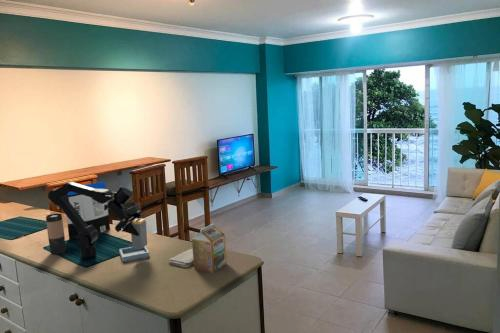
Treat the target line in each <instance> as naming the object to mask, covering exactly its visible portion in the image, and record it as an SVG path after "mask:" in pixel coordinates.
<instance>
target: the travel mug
mask: <svg viewBox="0 0 500 333" xmlns="http://www.w3.org/2000/svg"><path fill="white" fill-rule="evenodd" d="M45 220H46V221H45V222H46V230H47V237H48V238H47V239H48V245H49V251H50V255H55V256H57V254H58V255H62V254H65V253H66V251H67V250H66V237H65V229H64V222H63V214H62V213H50V214H47V215H46V216H45ZM61 253H62V254H61Z"/></svg>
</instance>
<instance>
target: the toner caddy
mask: <svg viewBox="0 0 500 333" xmlns="http://www.w3.org/2000/svg"><path fill="white" fill-rule="evenodd" d="M132 226H133V227H134V228H135V230H136V231H137V232H138V233H139V235H138V236H136V235H133V234H130V235H131V247H132V248H141V249H142V248H143V247H144V246H146V247H147V245H148V235H147V234H148V232H147V220H146V219H145V218H142V217H141V218H139V219H135V220H133V221H132Z"/></svg>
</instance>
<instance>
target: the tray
mask: <svg viewBox="0 0 500 333" xmlns="http://www.w3.org/2000/svg"><path fill="white" fill-rule="evenodd" d="M118 250H119V255H120V257H121V261H122V263H128V262H132V261H138V260H142V259H147V258H150V251H149V250H148V248H147V245H146V246H144V247H143V248H142V249H141V248H132V246H129V247H124V248H119V249H118Z"/></svg>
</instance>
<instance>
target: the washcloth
mask: <svg viewBox="0 0 500 333" xmlns="http://www.w3.org/2000/svg"><path fill="white" fill-rule="evenodd" d="M168 264H170V265H172V266H174V267H175V266H176V267H181V268H189V267H190V266H194V260H193V248H190V249H187V250H186V251H183V252H181V253H179V254H177V255H175V256H172V257H171V258H169V259H168Z"/></svg>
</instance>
